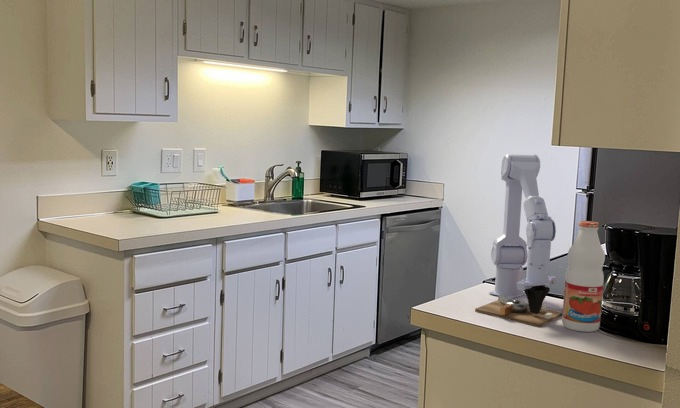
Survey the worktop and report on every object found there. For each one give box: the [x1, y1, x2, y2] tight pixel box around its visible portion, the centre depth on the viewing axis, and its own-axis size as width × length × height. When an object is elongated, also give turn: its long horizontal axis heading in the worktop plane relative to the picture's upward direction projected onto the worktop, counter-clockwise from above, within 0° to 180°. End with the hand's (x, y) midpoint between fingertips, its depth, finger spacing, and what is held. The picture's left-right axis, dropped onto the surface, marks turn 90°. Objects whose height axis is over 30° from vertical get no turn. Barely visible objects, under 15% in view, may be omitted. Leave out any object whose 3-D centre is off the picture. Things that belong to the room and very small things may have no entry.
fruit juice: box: [561, 220, 606, 333], centre depth 171 cm, size 9×9×28 cm
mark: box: [545, 313, 553, 319], centre depth 177 cm, size 2×1×1 cm, turn 139°
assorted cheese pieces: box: [497, 295, 547, 315], centre depth 182 cm, size 13×15×3 cm
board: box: [474, 299, 563, 328], centre depth 183 cm, size 15×19×1 cm
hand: (534, 312), depth 178 cm, fingers closed
